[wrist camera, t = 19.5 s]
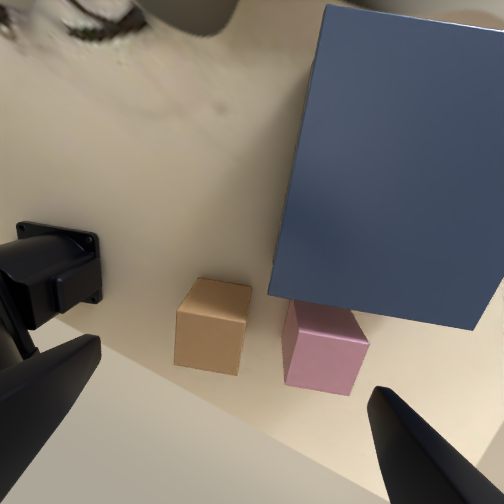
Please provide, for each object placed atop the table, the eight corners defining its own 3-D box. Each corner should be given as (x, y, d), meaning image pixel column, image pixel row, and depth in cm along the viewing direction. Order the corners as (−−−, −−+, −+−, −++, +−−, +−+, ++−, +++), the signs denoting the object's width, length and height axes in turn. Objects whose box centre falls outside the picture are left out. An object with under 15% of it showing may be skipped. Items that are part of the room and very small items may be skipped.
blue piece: (268, 264, 19) (267, 295, 15) (308, 56, 15) (326, 3, 10) (423, 291, 19) (473, 331, 14) (514, 89, 14) (632, 50, 10)
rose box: (281, 337, 22) (284, 384, 17) (292, 293, 20) (299, 331, 15) (331, 346, 21) (349, 396, 17) (346, 302, 20) (370, 344, 15)
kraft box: (194, 322, 22) (173, 365, 17) (198, 277, 20) (176, 310, 15) (244, 331, 22) (237, 376, 17) (252, 286, 20) (246, 322, 15)
